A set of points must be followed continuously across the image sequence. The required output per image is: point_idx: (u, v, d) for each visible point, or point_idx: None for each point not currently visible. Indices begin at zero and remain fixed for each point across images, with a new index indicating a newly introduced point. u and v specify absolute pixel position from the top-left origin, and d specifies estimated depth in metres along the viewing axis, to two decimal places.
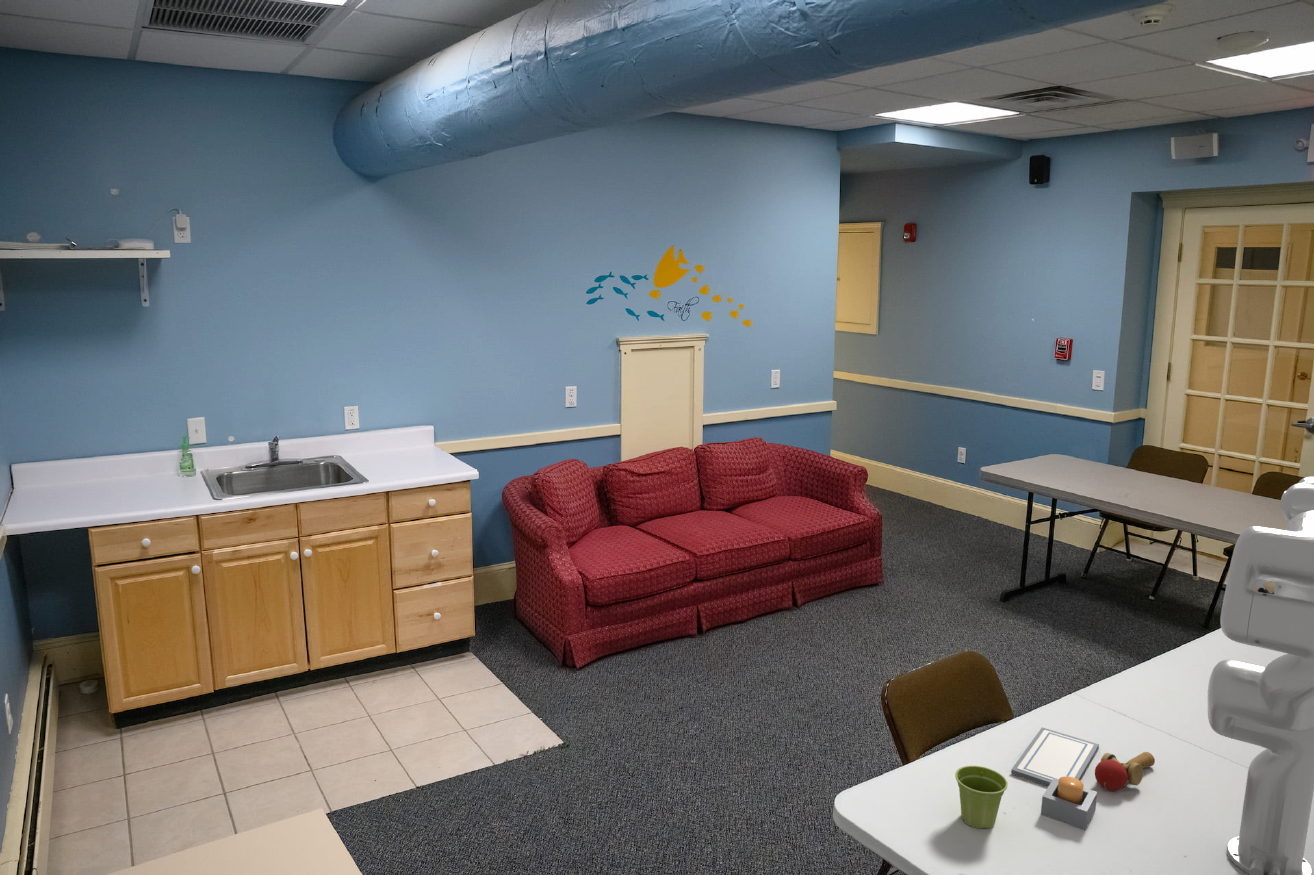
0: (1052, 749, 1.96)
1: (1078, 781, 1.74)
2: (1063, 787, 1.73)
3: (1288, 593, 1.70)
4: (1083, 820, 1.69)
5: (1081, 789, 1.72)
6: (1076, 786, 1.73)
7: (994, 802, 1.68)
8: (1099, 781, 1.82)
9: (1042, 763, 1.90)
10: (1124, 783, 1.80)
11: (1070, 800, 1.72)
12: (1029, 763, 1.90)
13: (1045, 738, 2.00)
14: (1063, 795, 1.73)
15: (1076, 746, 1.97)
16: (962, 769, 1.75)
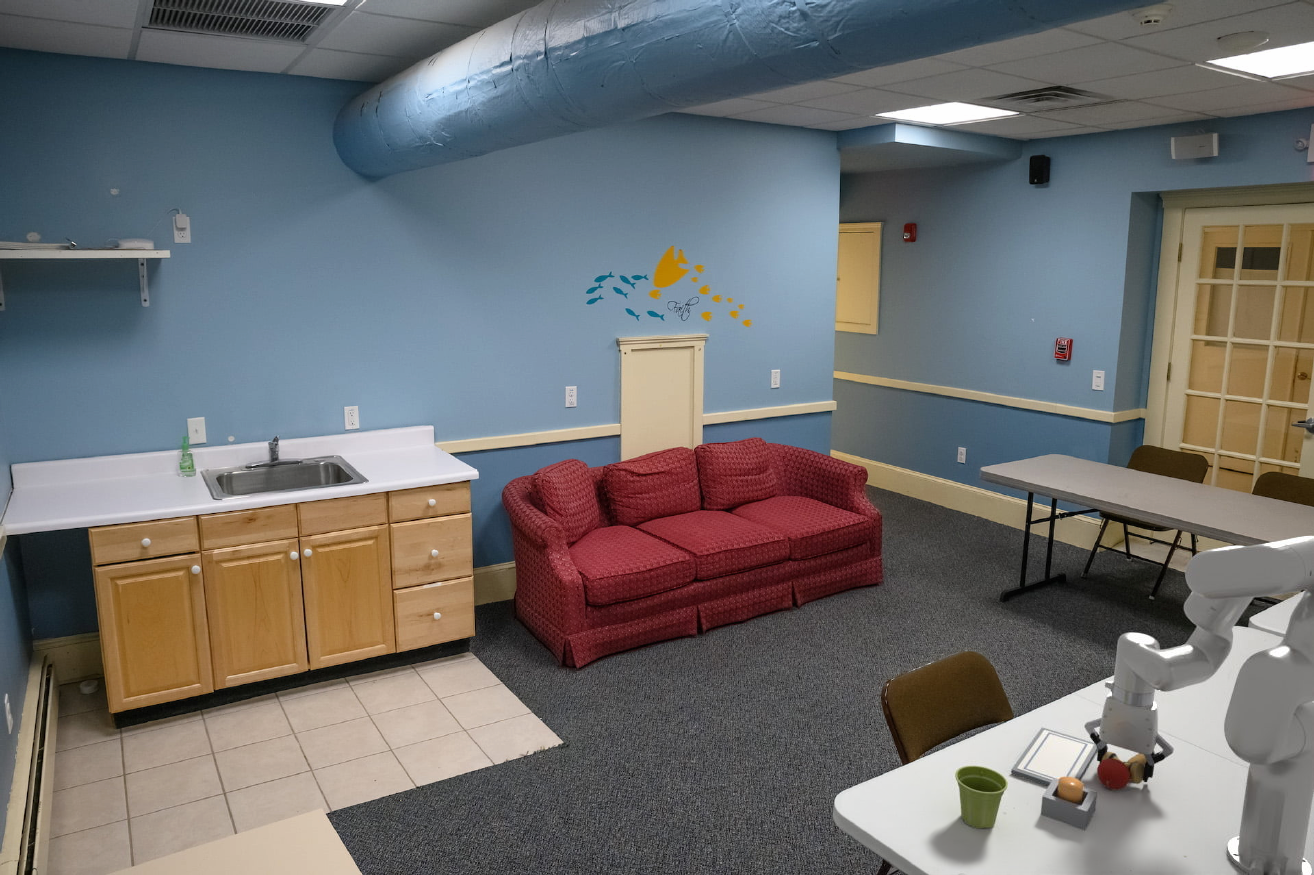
0: (1052, 749, 1.96)
1: (1078, 781, 1.74)
2: (1063, 787, 1.73)
3: (1110, 738, 1.85)
4: (1083, 820, 1.69)
5: (1081, 789, 1.72)
6: (1076, 786, 1.73)
7: (994, 802, 1.68)
8: (1102, 780, 1.82)
9: (1042, 763, 1.90)
10: (1127, 782, 1.80)
11: (1070, 800, 1.72)
12: (1029, 763, 1.90)
13: (1045, 738, 2.00)
14: (1063, 795, 1.73)
15: (1076, 746, 1.97)
16: (962, 769, 1.75)
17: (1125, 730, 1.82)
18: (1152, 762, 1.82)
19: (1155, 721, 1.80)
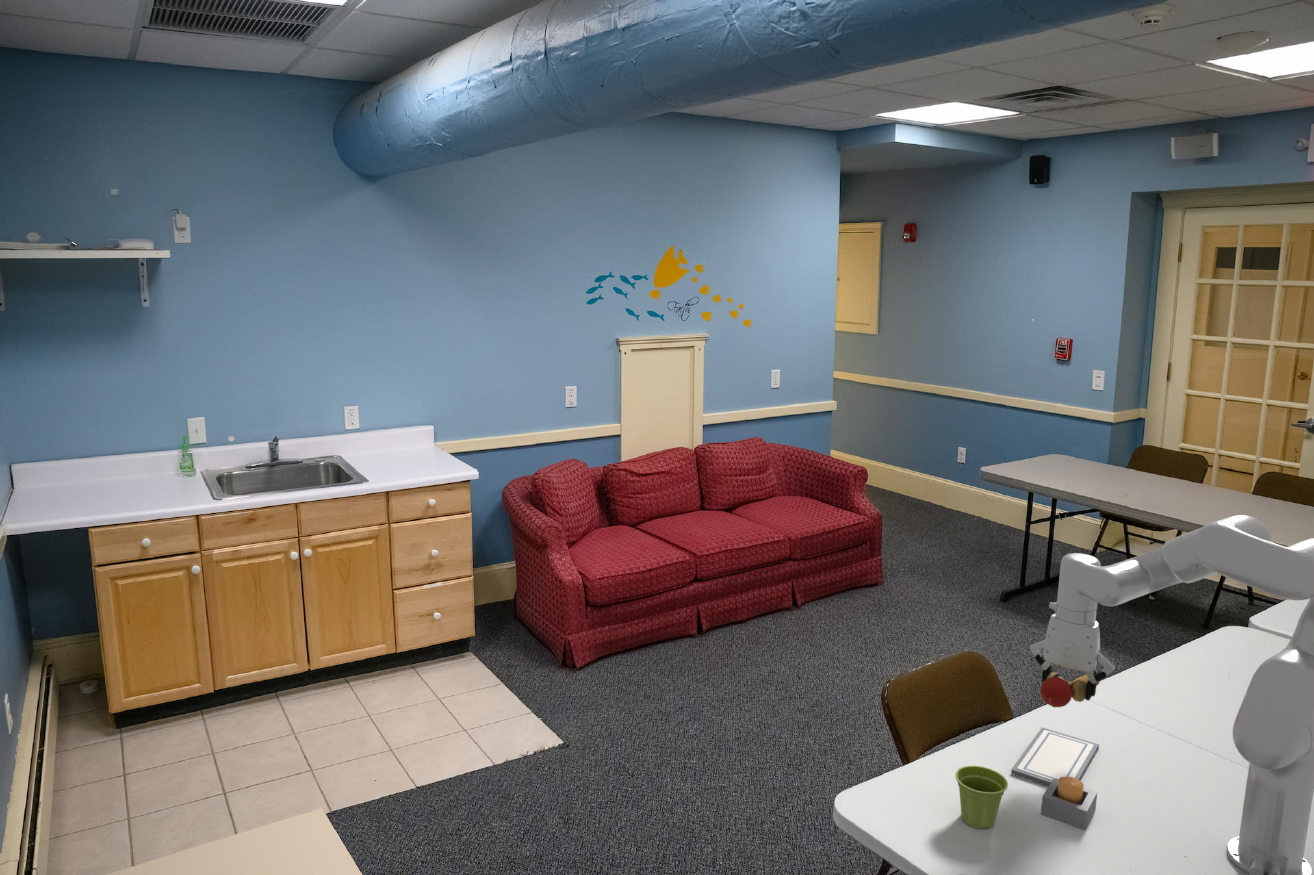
0: (1052, 749, 1.96)
1: (1078, 781, 1.74)
2: (1063, 787, 1.73)
3: (1053, 658, 1.87)
4: (1083, 820, 1.69)
5: (1081, 789, 1.72)
6: (1076, 786, 1.73)
7: (994, 802, 1.68)
8: (1044, 698, 1.85)
9: (1042, 763, 1.90)
10: (1068, 699, 1.83)
11: (1070, 800, 1.72)
12: (1029, 763, 1.90)
13: (1045, 738, 2.00)
14: (1063, 795, 1.73)
15: (1076, 746, 1.97)
16: (962, 769, 1.75)
17: (1067, 649, 1.85)
18: (1094, 680, 1.85)
19: (1096, 639, 1.83)
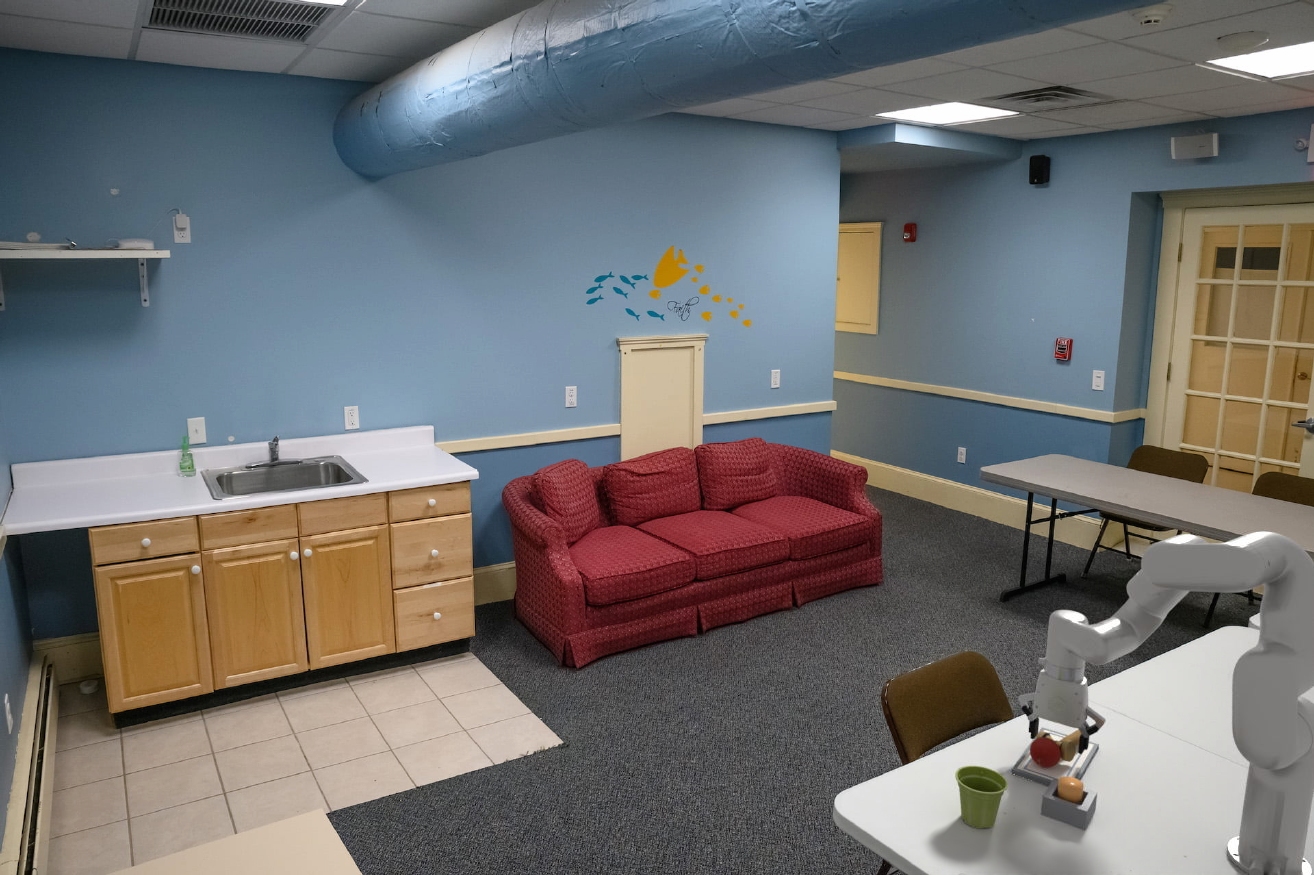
0: None
1: (1078, 781, 1.74)
2: (1063, 787, 1.73)
3: (1043, 713, 1.90)
4: (1083, 820, 1.69)
5: (1081, 789, 1.72)
6: (1076, 786, 1.73)
7: (994, 802, 1.68)
8: (1034, 758, 1.88)
9: None
10: (1057, 759, 1.86)
11: (1070, 800, 1.72)
12: (1029, 763, 1.90)
13: None
14: (1063, 795, 1.73)
15: (1076, 746, 1.97)
16: (962, 769, 1.75)
17: (1056, 705, 1.88)
18: (1086, 734, 1.87)
19: (1085, 695, 1.86)
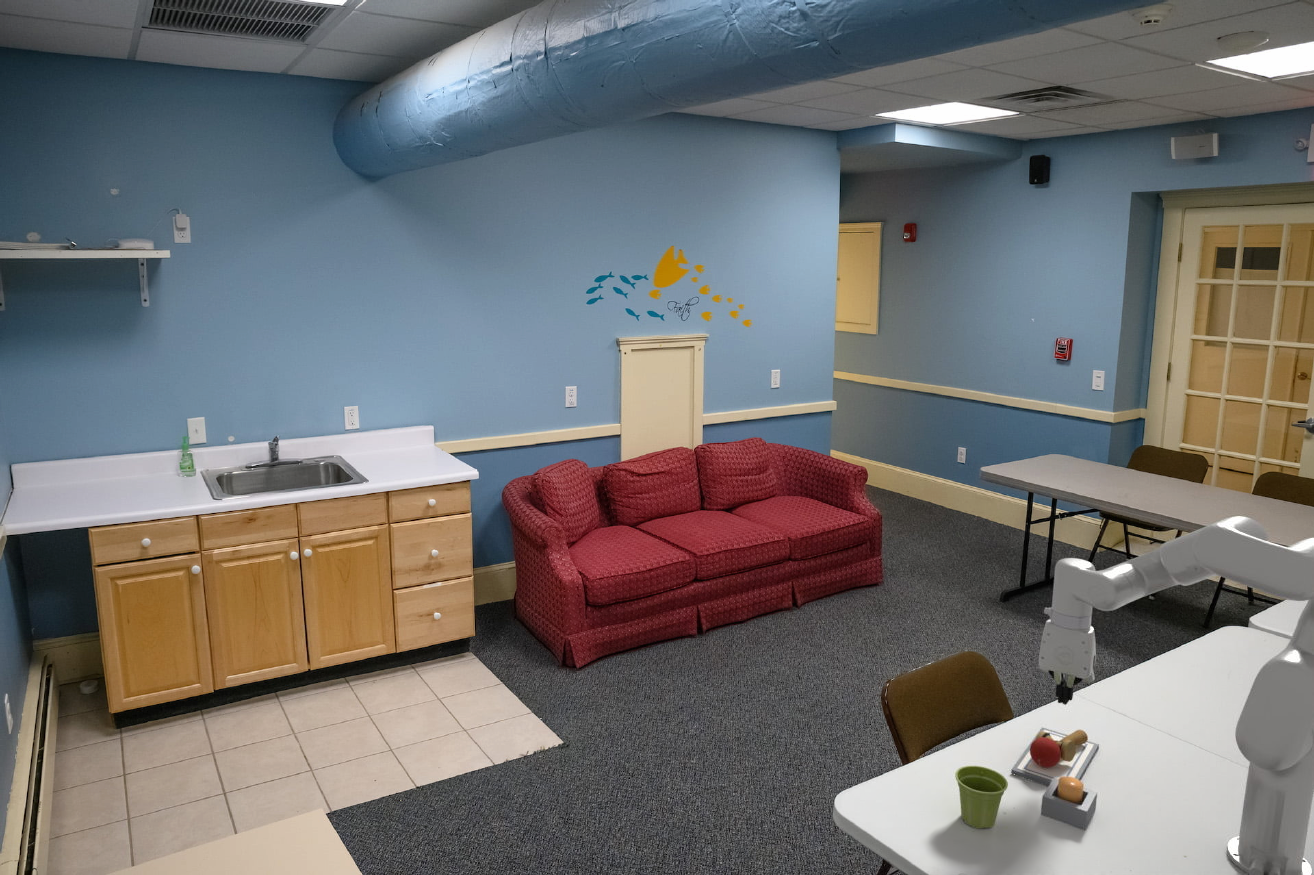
0: None
1: (1078, 781, 1.74)
2: (1063, 787, 1.73)
3: (1049, 664, 1.86)
4: (1083, 820, 1.69)
5: (1081, 789, 1.72)
6: (1076, 786, 1.73)
7: (994, 802, 1.68)
8: (1034, 758, 1.88)
9: None
10: (1057, 759, 1.86)
11: (1070, 800, 1.72)
12: (1029, 763, 1.90)
13: None
14: (1063, 795, 1.73)
15: (1076, 746, 1.97)
16: (962, 769, 1.75)
17: (1063, 655, 1.84)
18: (1070, 685, 1.86)
19: (1092, 644, 1.81)
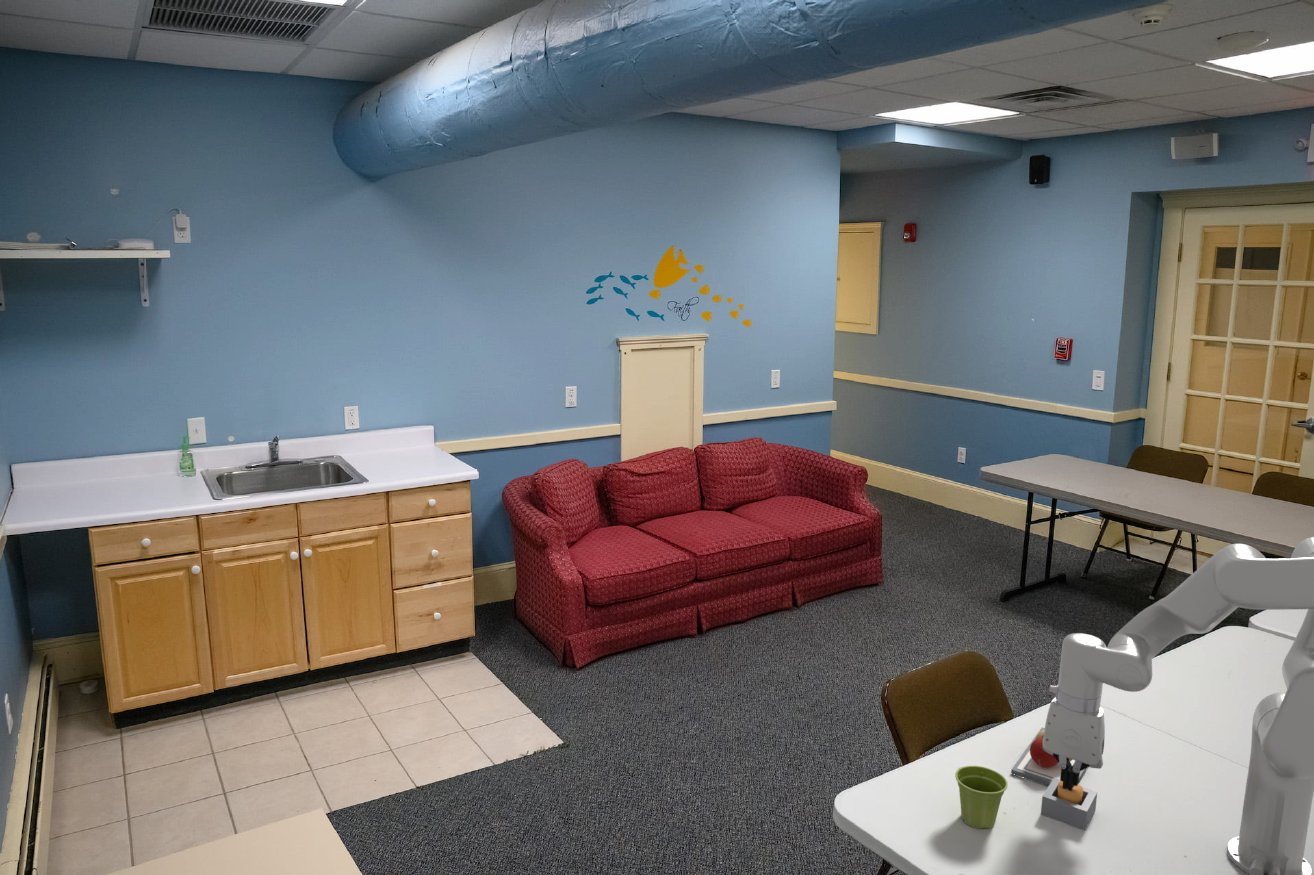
0: None
1: (1078, 785, 1.74)
2: (1062, 791, 1.73)
3: (1054, 747, 1.72)
4: (1083, 820, 1.69)
5: (1080, 793, 1.72)
6: (1075, 790, 1.73)
7: (994, 802, 1.68)
8: (1034, 758, 1.88)
9: None
10: None
11: None
12: (1029, 763, 1.90)
13: None
14: (1063, 799, 1.73)
15: None
16: (962, 769, 1.75)
17: (1069, 738, 1.70)
18: (1077, 770, 1.71)
19: (1101, 729, 1.67)
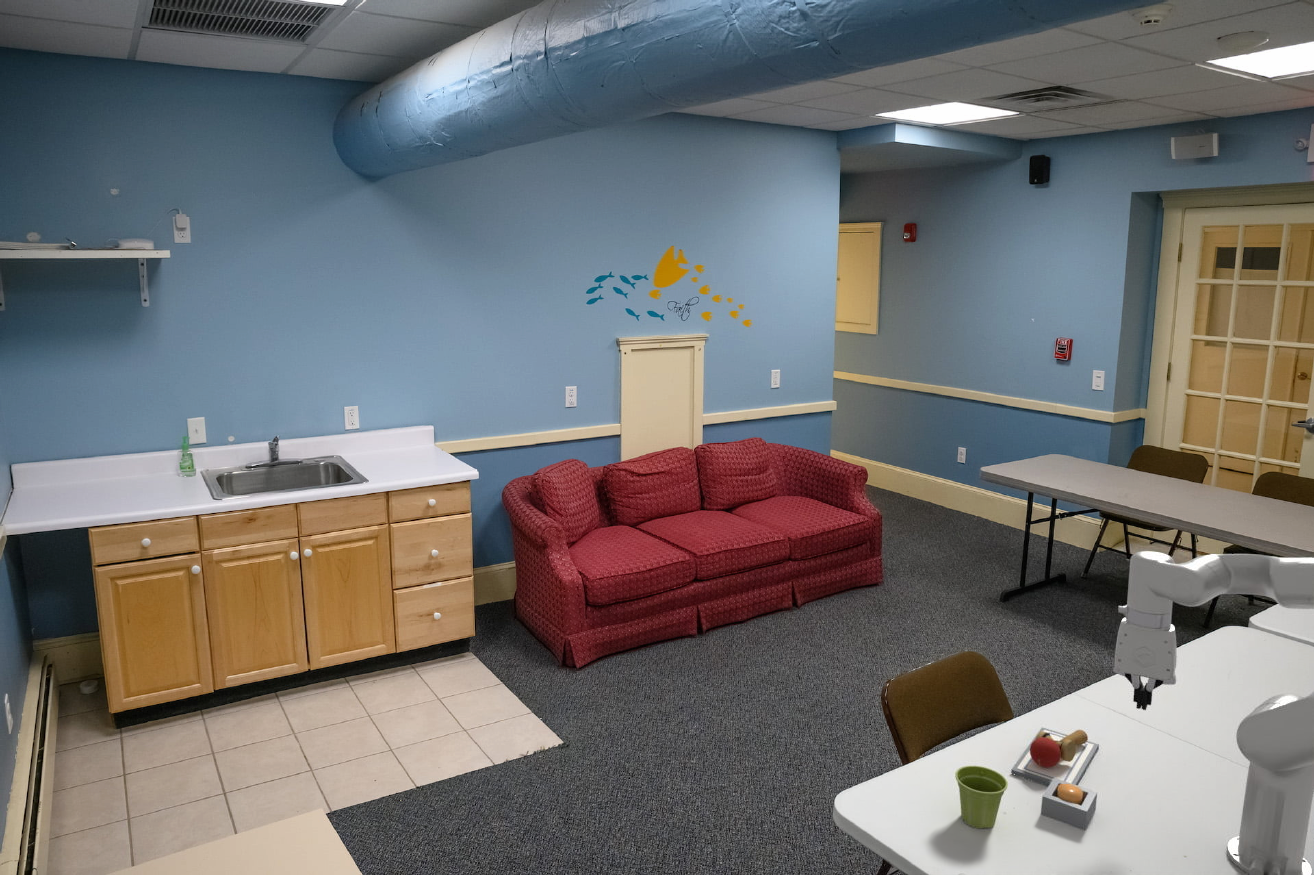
0: None
1: (1077, 788, 1.74)
2: (1062, 794, 1.73)
3: (1127, 667, 1.72)
4: (1083, 820, 1.69)
5: (1080, 796, 1.72)
6: (1075, 793, 1.73)
7: (994, 802, 1.68)
8: (1034, 758, 1.88)
9: None
10: (1057, 759, 1.86)
11: None
12: (1029, 763, 1.90)
13: None
14: None
15: (1076, 746, 1.97)
16: (962, 769, 1.75)
17: (1142, 656, 1.70)
18: (1150, 688, 1.72)
19: (1174, 643, 1.68)
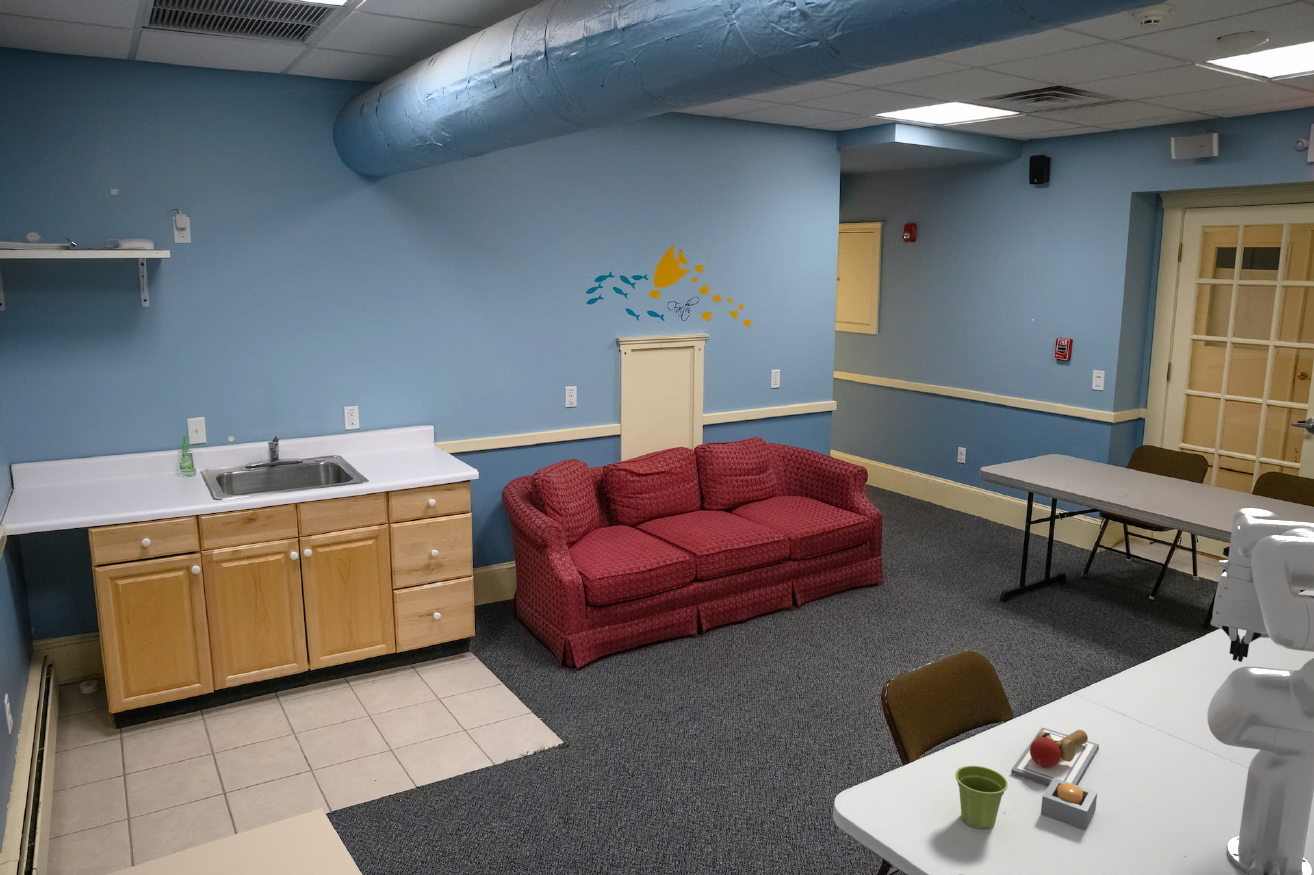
0: None
1: (1077, 788, 1.74)
2: (1062, 794, 1.73)
3: (1225, 619, 1.78)
4: (1083, 820, 1.69)
5: (1080, 796, 1.72)
6: (1075, 793, 1.73)
7: (994, 802, 1.68)
8: (1034, 758, 1.88)
9: None
10: (1057, 759, 1.86)
11: None
12: (1029, 763, 1.90)
13: None
14: None
15: (1076, 746, 1.97)
16: (962, 769, 1.75)
17: (1242, 609, 1.76)
18: (1248, 641, 1.78)
19: None
